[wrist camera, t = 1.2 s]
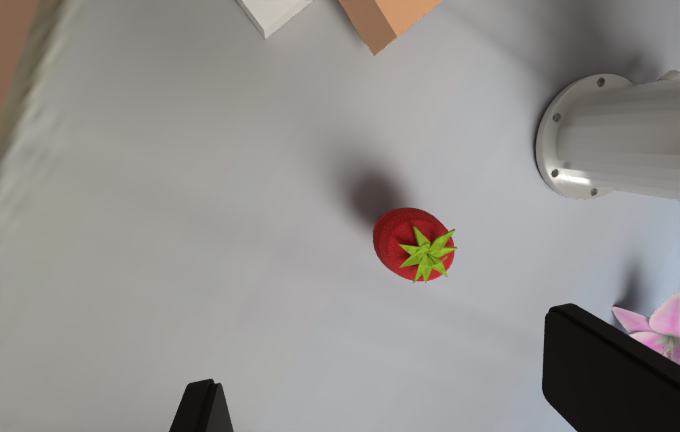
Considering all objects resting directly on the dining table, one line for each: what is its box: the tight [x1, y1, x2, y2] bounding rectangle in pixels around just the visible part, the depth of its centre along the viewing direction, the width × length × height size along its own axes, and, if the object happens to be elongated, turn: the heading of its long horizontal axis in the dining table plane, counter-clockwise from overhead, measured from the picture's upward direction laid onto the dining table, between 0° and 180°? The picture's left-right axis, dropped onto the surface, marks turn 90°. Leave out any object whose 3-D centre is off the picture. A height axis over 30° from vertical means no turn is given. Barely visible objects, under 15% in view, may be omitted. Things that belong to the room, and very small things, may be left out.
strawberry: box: [373, 208, 457, 284], centre depth 29 cm, size 6×8×10 cm
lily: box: [612, 292, 680, 365], centre depth 39 cm, size 12×12×10 cm
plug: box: [338, 0, 442, 56], centre depth 25 cm, size 4×5×8 cm
